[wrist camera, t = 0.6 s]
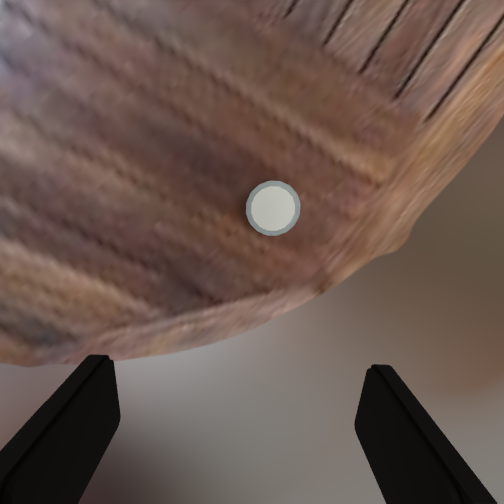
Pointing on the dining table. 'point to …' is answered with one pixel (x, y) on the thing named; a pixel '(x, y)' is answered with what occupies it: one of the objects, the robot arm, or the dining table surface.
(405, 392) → the robot arm
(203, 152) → the dining table surface
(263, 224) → the shot glass
